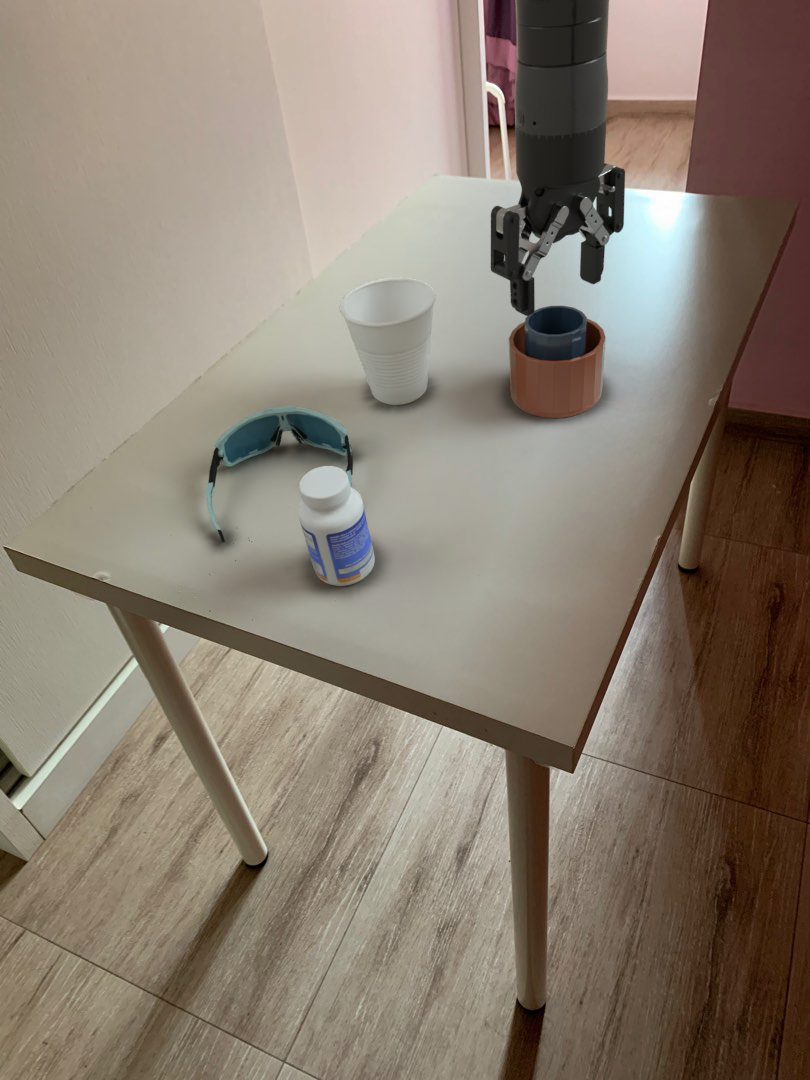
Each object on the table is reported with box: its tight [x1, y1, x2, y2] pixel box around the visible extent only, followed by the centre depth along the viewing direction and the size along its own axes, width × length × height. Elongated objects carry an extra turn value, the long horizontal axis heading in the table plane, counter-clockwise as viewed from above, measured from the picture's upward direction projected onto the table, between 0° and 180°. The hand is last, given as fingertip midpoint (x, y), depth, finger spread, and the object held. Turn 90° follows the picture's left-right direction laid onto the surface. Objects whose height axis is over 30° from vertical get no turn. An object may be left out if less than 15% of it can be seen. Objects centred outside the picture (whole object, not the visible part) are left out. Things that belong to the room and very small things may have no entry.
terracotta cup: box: [508, 318, 607, 419], centre depth 84 cm, size 10×10×6 cm
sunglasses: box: [205, 405, 354, 543], centre depth 78 cm, size 14×15×5 cm
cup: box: [338, 276, 437, 406], centre depth 86 cm, size 10×10×11 cm
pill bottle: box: [297, 465, 376, 587], centre depth 67 cm, size 5×5×10 cm
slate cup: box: [524, 305, 588, 361], centre depth 83 cm, size 6×6×8 cm
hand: (558, 296), depth 78 cm, fingers open, 8 cm apart
